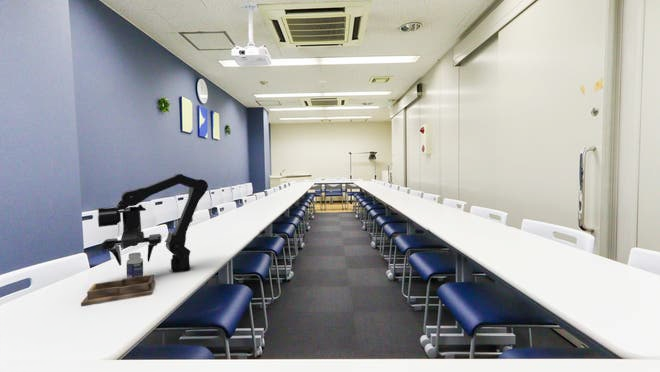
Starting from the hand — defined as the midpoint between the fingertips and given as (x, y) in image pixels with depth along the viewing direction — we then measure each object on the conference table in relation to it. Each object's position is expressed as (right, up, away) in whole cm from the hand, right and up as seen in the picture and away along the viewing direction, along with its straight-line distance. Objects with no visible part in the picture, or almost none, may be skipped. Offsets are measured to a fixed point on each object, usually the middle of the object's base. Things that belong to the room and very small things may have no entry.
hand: (134, 263), depth 117 cm
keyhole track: (+4, -7, -13) cm, 15 cm away
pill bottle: (0, -6, 0) cm, 6 cm away
